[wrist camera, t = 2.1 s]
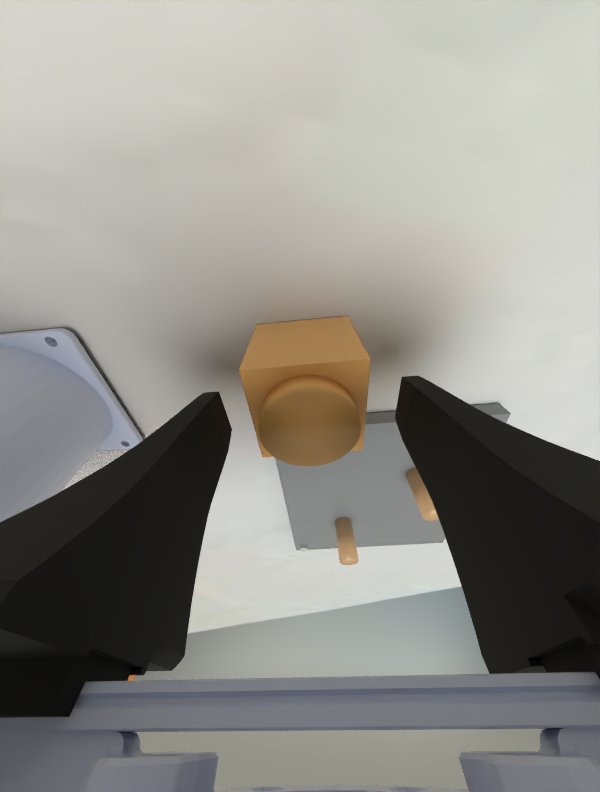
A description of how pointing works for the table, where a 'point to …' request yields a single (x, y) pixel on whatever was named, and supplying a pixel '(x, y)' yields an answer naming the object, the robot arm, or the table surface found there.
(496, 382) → the table surface
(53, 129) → the table surface
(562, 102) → the table surface
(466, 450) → the robot arm
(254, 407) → the cube with round knob
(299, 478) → the plate
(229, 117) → the table surface
